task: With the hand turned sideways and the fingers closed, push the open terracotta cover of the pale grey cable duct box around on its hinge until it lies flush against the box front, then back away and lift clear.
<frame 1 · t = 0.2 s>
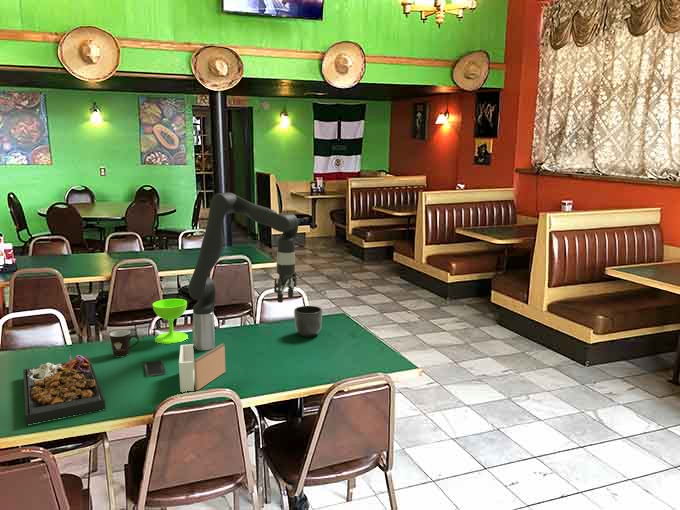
hand: (285, 299, 235), 29 cm above the table, tool pointing down, fingers open, 8 cm apart
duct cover: (210, 365, 222), point 6 cm above the table, hinge at 35.0°
planter: (308, 334, 279), on the table
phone: (154, 370, 235), on the table
coffee mug: (124, 355, 251), on the table
food platter: (62, 395, 212), on the table
duct box: (194, 381, 223), on the table
wineglass: (171, 339, 272), on the table
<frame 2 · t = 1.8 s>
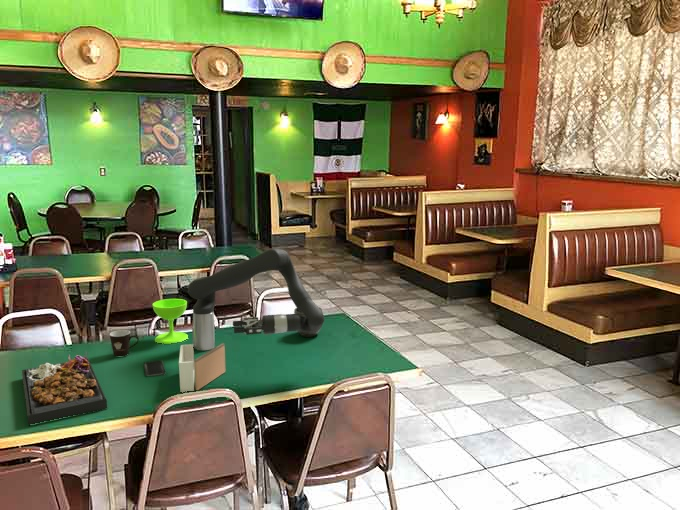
hand: (233, 327, 220), 22 cm above the table, tool horizontal, fingers open, 7 cm apart
nothing on the table moved.
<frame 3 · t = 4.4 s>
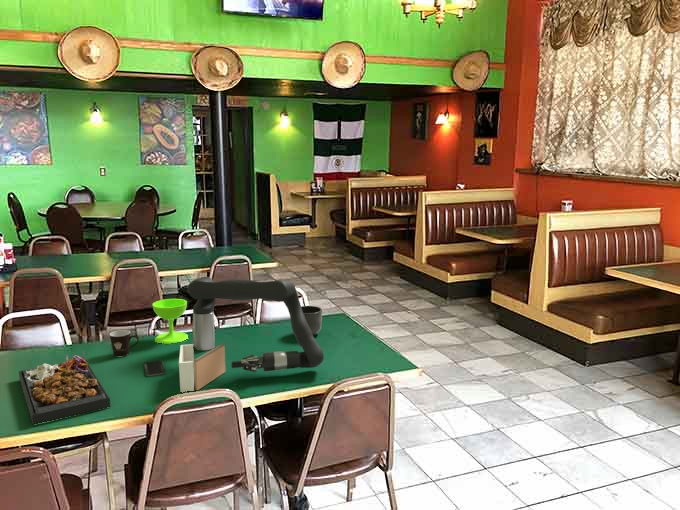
hand: (231, 364, 223), 6 cm above the table, tool horizontal, fingers closed
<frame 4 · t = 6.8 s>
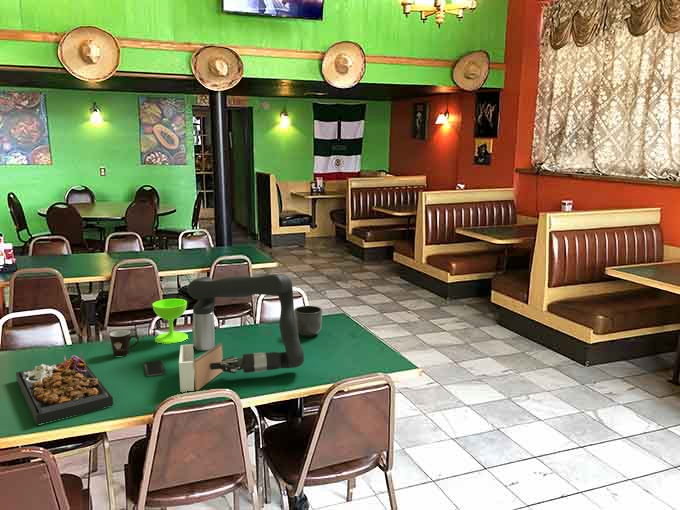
hand: (210, 366, 221), 6 cm above the table, tool horizontal, fingers closed
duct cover: (209, 365, 222), point 6 cm above the table, hinge at 31.4°, touching gripper
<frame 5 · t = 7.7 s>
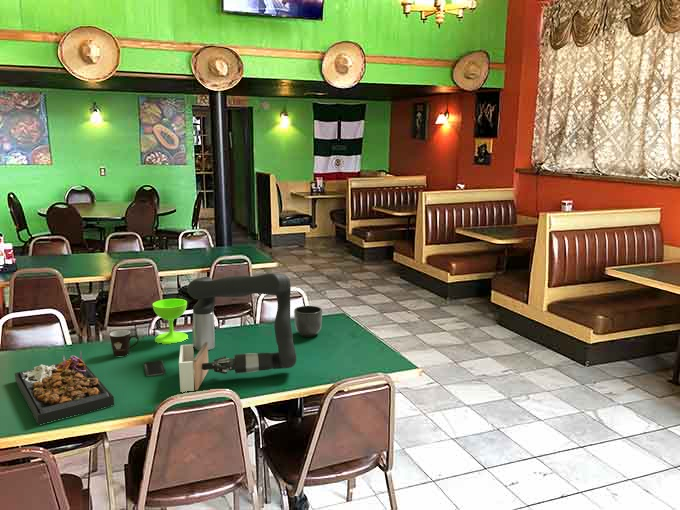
hand: (202, 366, 221), 6 cm above the table, tool horizontal, fingers closed
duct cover: (201, 365, 222), point 7 cm above the table, hinge at 13.0°, touching gripper
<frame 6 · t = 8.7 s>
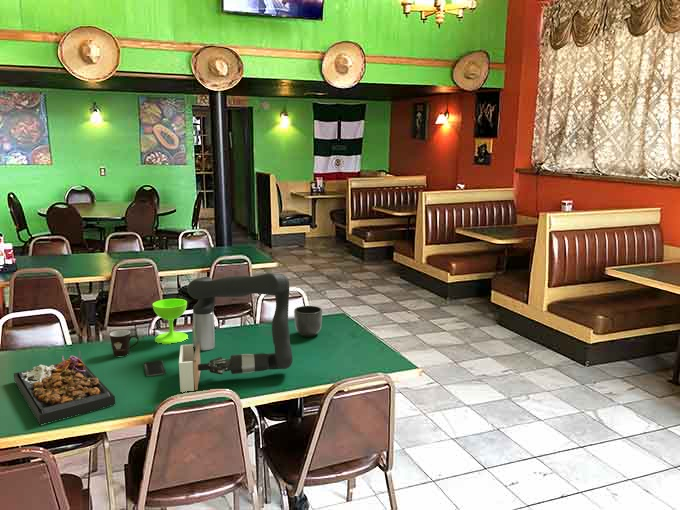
hand: (198, 367, 221), 6 cm above the table, tool horizontal, fingers closed
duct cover: (197, 365, 222), point 6 cm above the table, hinge at 3.5°, touching gripper
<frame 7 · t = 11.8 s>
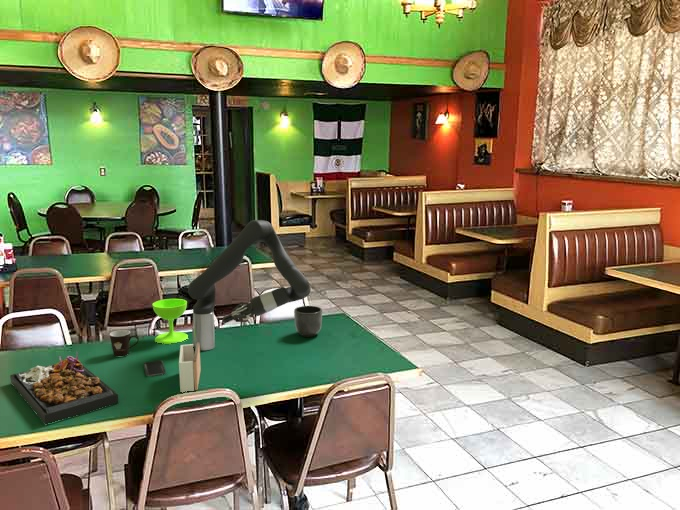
hand: (223, 320, 224), 24 cm above the table, tool tilted 70°, fingers closed
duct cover: (197, 365, 222), point 7 cm above the table, hinge at 3.4°
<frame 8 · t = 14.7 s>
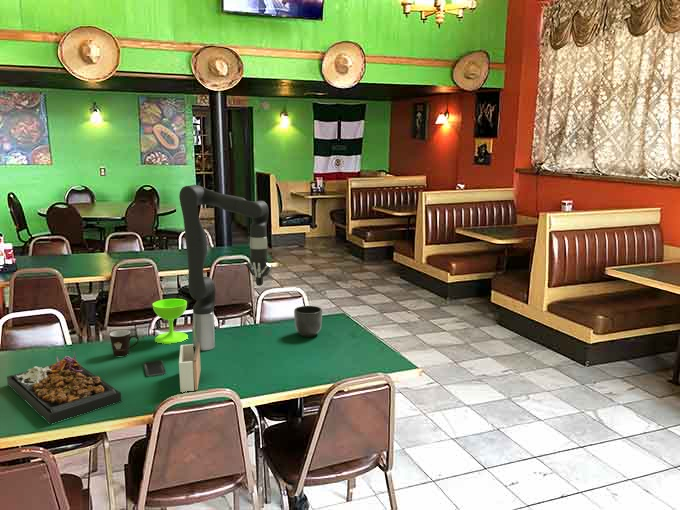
hand: (259, 285, 247), 32 cm above the table, tool pointing down, fingers closed
at the end: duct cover at +3° (first picture: +35°) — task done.
